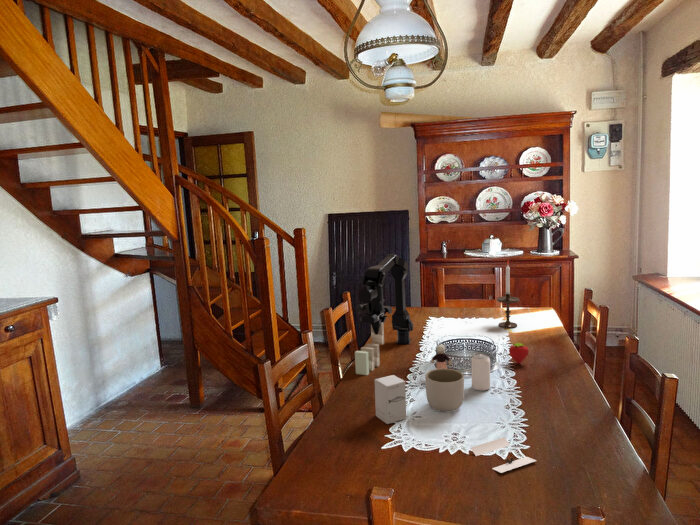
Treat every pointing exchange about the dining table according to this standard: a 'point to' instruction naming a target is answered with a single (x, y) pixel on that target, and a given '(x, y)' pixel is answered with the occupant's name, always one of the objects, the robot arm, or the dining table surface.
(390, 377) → the supplement box
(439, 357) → the grandmother figurine
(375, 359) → the domino
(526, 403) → the dining table surface
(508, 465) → the pale pink flat slab
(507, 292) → the candlestick
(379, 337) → the domino
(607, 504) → the dining table surface
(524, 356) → the strawberry
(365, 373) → the sage end domino
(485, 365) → the can
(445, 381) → the planter
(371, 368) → the domino
